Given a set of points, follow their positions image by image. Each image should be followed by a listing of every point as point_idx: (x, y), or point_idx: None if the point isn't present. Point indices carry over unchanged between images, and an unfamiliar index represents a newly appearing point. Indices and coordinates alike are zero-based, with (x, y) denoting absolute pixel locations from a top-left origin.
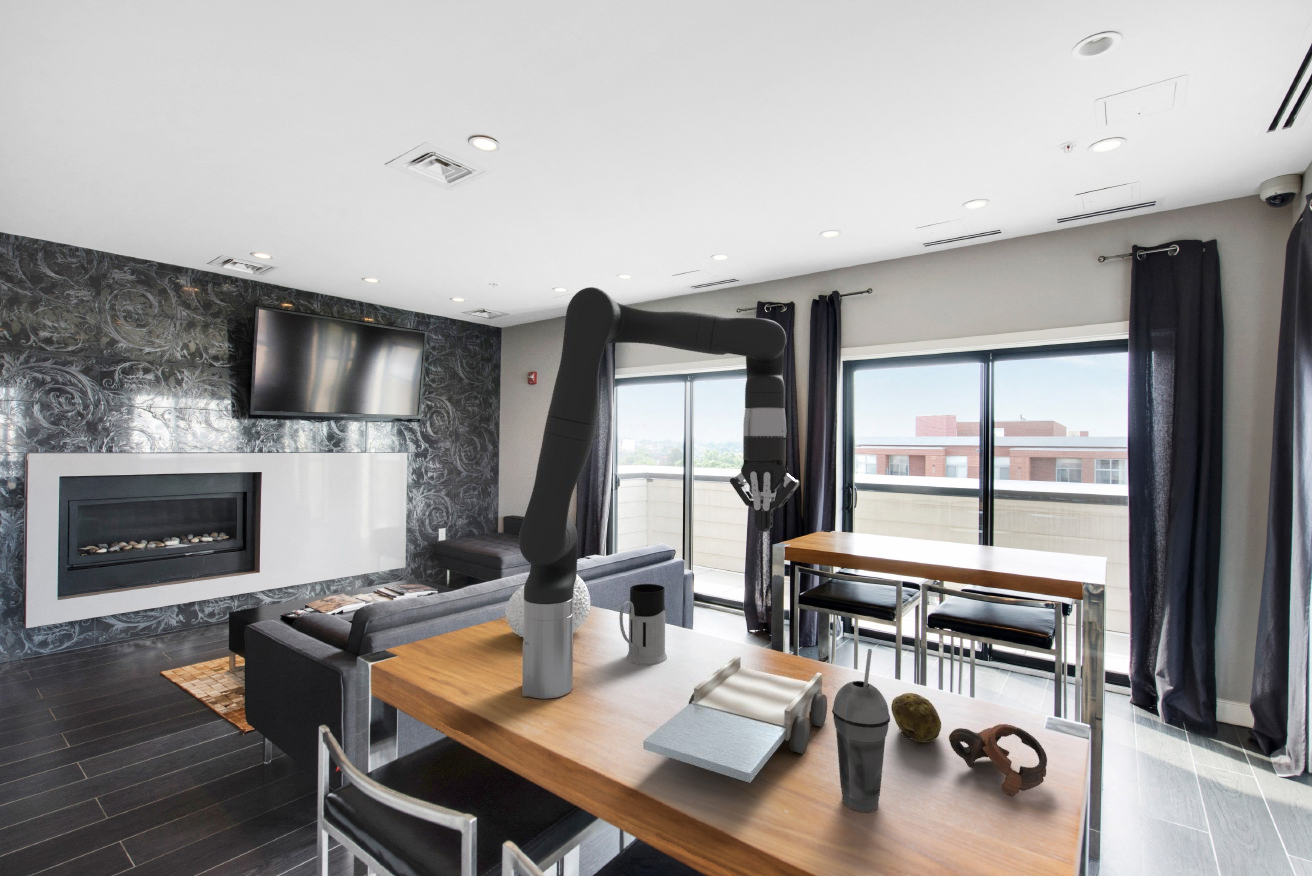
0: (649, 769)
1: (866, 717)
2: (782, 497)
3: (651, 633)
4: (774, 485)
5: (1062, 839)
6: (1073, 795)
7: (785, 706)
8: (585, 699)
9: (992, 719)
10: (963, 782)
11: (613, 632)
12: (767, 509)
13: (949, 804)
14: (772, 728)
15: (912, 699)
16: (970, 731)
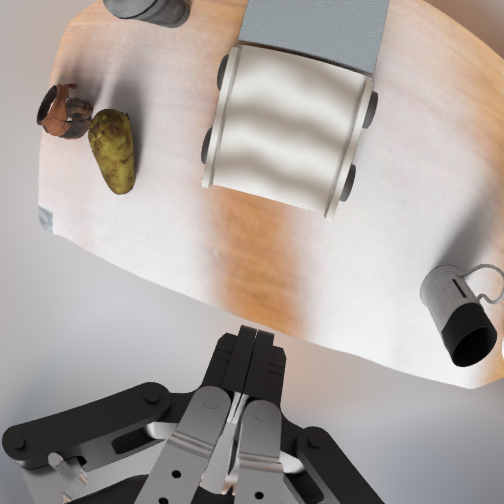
0: None
1: None
2: (101, 413)
3: (451, 291)
4: (122, 490)
5: (60, 49)
6: None
7: (246, 97)
8: (491, 151)
9: (78, 217)
10: (98, 86)
11: None
12: (207, 391)
13: (111, 48)
14: (254, 34)
15: (99, 128)
16: (69, 109)
